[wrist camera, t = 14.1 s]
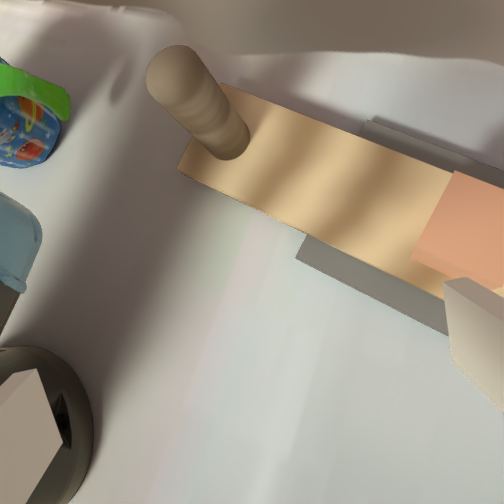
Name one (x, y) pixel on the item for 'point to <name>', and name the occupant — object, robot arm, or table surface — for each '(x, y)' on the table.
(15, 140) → the snack cup
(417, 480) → the table surface
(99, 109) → the table surface
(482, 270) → the cube
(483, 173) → the lane board
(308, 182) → the tan wooden stand
